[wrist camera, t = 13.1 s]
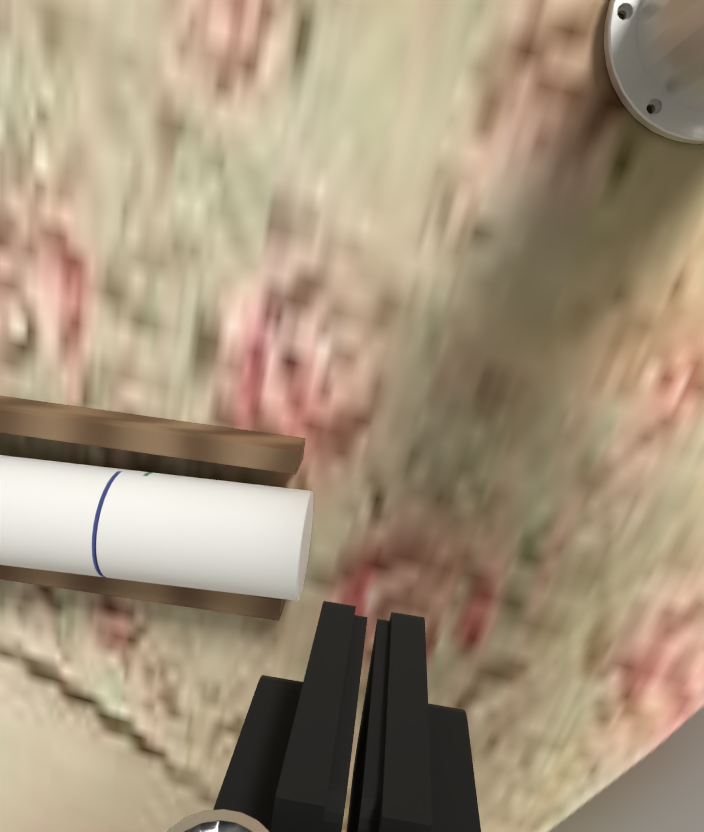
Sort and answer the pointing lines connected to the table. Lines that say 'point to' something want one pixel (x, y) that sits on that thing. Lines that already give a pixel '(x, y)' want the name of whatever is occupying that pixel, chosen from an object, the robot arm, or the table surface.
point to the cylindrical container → (154, 527)
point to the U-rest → (155, 440)
